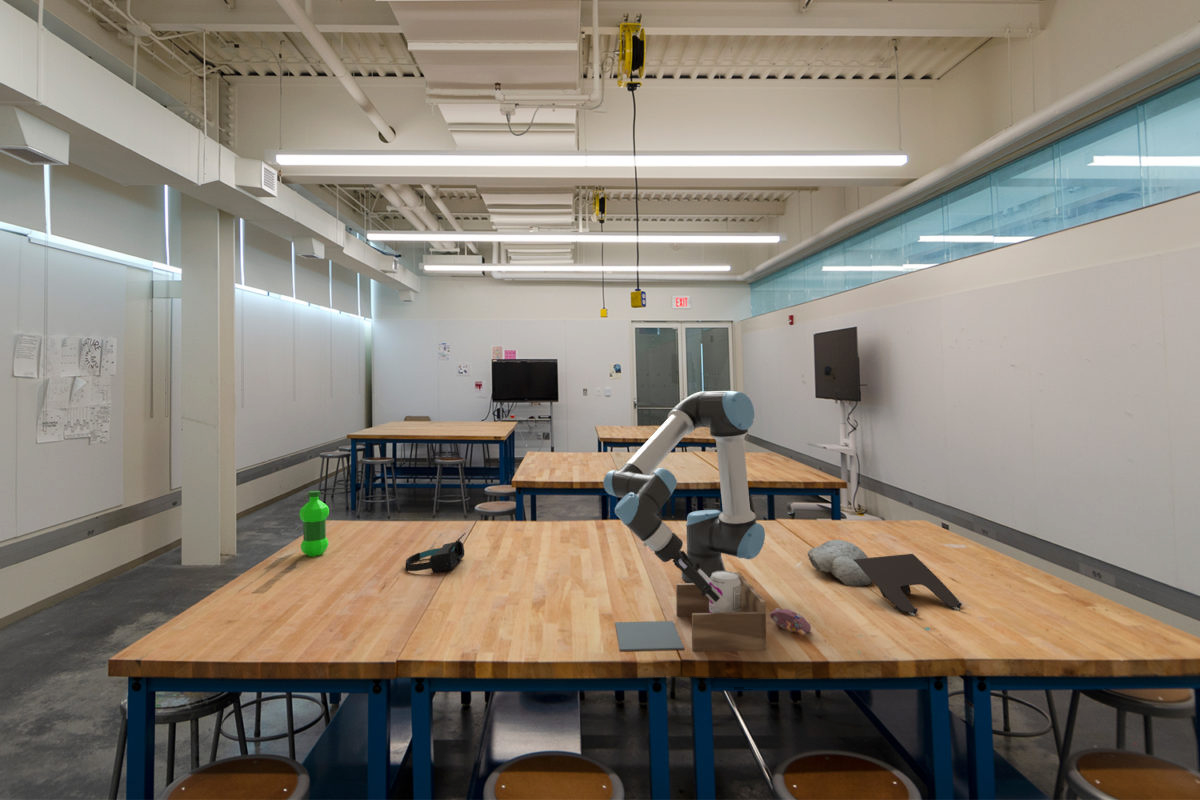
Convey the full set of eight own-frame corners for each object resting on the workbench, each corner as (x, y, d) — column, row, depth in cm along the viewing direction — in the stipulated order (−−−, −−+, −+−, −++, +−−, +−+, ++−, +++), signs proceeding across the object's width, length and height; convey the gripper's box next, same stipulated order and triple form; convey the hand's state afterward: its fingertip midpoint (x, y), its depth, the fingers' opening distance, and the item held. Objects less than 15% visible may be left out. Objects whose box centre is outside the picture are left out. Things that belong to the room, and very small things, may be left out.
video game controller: (771, 630, 151) (766, 611, 149) (778, 619, 154) (773, 599, 152) (806, 642, 144) (801, 622, 142) (813, 629, 147) (808, 609, 145)
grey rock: (872, 589, 179) (873, 561, 178) (803, 579, 188) (803, 552, 188) (871, 564, 204) (872, 540, 204) (810, 556, 213) (811, 533, 213)
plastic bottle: (293, 557, 215) (293, 493, 214) (315, 549, 225) (314, 488, 225) (314, 559, 212) (314, 494, 212) (335, 551, 222) (334, 489, 222)
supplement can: (718, 639, 143) (718, 581, 143) (704, 626, 151) (704, 571, 151) (746, 635, 145) (746, 578, 145) (730, 622, 153) (730, 568, 153)
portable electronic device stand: (895, 634, 159) (906, 611, 155) (846, 575, 179) (855, 554, 175) (959, 625, 165) (971, 602, 161) (905, 569, 185) (915, 548, 181)
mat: (615, 623, 153) (615, 622, 153) (672, 622, 153) (672, 620, 153) (619, 650, 137) (619, 649, 137) (684, 649, 137) (684, 647, 137)
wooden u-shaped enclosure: (676, 614, 159) (676, 573, 158) (739, 613, 159) (739, 571, 159) (693, 651, 136) (693, 603, 136) (765, 649, 137) (765, 601, 137)
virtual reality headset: (459, 571, 195) (454, 543, 195) (398, 580, 196) (393, 553, 195) (472, 555, 213) (468, 529, 213) (417, 563, 214) (413, 538, 214)
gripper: (647, 539, 159) (698, 590, 159) (660, 566, 134) (721, 627, 134) (665, 520, 159) (717, 572, 160) (681, 544, 134) (742, 605, 135)
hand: (719, 597), depth 147 cm, fingers open, 13 cm apart
